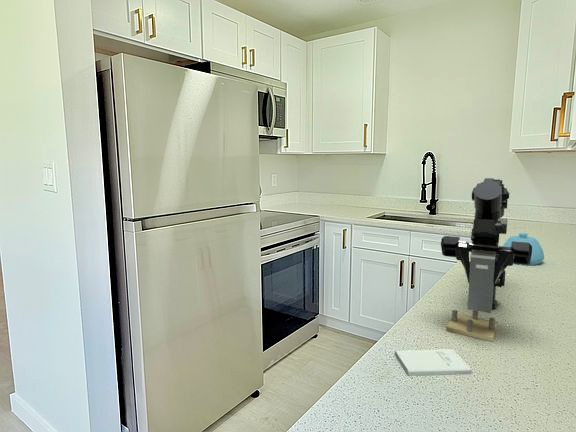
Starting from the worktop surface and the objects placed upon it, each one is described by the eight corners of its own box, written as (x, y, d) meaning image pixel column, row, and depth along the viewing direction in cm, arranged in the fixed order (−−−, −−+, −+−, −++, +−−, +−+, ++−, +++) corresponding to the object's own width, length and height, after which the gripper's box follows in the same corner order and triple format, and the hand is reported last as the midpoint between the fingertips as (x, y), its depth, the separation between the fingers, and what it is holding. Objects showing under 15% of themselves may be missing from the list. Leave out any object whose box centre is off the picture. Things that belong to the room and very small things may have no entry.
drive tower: (469, 301, 90) (472, 249, 88) (492, 305, 87) (495, 251, 85) (467, 309, 86) (470, 254, 83) (491, 313, 83) (495, 257, 81)
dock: (454, 316, 98) (455, 303, 97) (497, 325, 92) (498, 312, 92) (445, 330, 90) (446, 317, 89) (492, 341, 84) (493, 327, 84)
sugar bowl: (518, 255, 160) (520, 228, 159) (552, 264, 146) (555, 235, 144) (491, 258, 156) (493, 231, 154) (524, 268, 141) (526, 238, 140)
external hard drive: (394, 356, 79) (451, 354, 80) (408, 378, 71) (471, 376, 72) (394, 349, 79) (451, 347, 80) (408, 370, 71) (472, 368, 72)
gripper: (443, 203, 91) (434, 258, 83) (535, 207, 81) (533, 269, 74) (446, 229, 99) (438, 281, 91) (530, 235, 89) (528, 294, 82)
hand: (481, 281), depth 84 cm, fingers closed on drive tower, 5 cm apart
